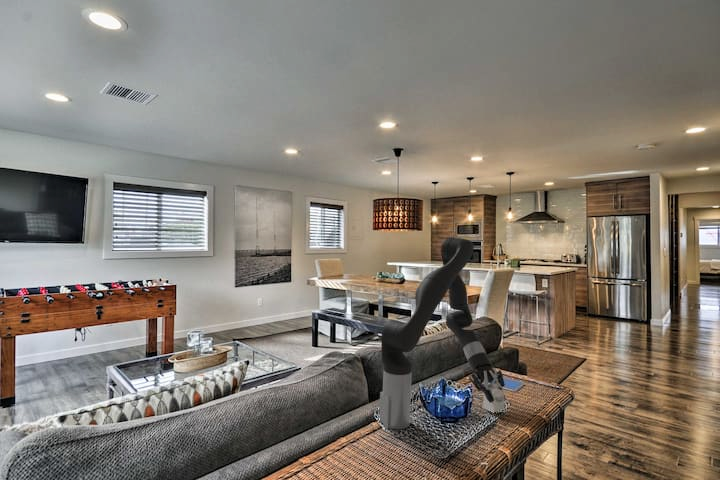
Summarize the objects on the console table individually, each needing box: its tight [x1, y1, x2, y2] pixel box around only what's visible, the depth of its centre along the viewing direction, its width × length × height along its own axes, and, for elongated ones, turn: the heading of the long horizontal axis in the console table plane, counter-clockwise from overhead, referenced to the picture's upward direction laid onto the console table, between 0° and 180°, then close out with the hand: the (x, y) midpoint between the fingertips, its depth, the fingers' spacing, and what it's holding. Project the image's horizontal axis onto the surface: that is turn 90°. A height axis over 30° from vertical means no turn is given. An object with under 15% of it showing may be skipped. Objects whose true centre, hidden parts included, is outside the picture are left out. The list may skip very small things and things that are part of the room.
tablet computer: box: [488, 377, 525, 393], centre depth 165 cm, size 19×13×1 cm, turn 49°
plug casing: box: [482, 383, 506, 414], centre depth 136 cm, size 4×6×9 cm
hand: (497, 400), depth 134 cm, fingers closed on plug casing, 4 cm apart
